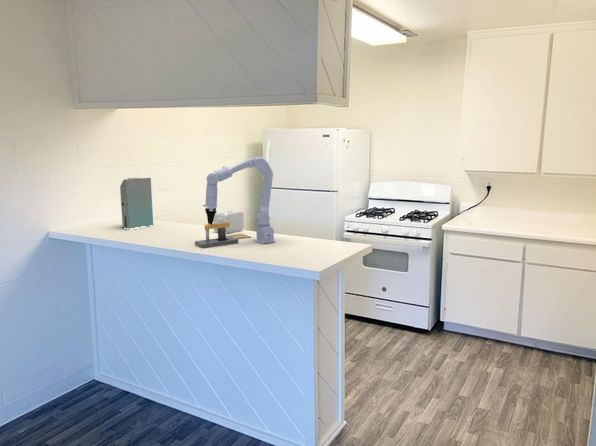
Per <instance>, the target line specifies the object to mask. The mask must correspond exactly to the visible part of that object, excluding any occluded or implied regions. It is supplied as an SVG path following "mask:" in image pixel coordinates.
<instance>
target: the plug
mask: <svg viewBox="0 0 596 446" xmlns="http://www.w3.org/2000/svg"><path fill="white" fill-rule="evenodd" d="M226 235H227V232H226V228H218V231H217V238H218V241H225V240H226Z"/></svg>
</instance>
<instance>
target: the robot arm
mask: <svg viewBox="0 0 596 446" xmlns="http://www.w3.org/2000/svg"><path fill="white" fill-rule="evenodd" d="M248 168H249V169H254V168H255V169H256V170H258V171H259V172H260V173H261V174H262V175H263V179H262V187H261V195H260V204H259V209H258V212H257V214H256V220H257V223H256V226H255V228H256V230H255V231H256V239H253V242H255V243H259V244H271V243H275V242H276V241H275V240H274V239H275V237H274V236H275V235H274V233H275V232H274V228H273V227H272V226H271V223H270V221H271V218H270V201H271V195H272V194H271V193H272V187H273V177H274V171H273V170H272V168H271V166H270V164H269V162H268V161H267V160H266V159H265V158H264V157H263V156H258V155H257V156H256V157H253V158H248V159H246V160H243V161H242V162H239V163H237V164H235V165H233V166H231V167H230V166H222V167H221V168H220V169H218V170H214V171H213V172H210V173H209V174H207V176H206V182H207V183H206V189H205V204H202V207H205V208H204V209H205V214H206V218H207V225H208V224H213V220H214V216H215V214H216V212H217V208H218V182H223V181H225V180H227V179H229V178H231V177H232V176H233V174H234V173H237V172H239V171H242V170H244V169H248Z"/></svg>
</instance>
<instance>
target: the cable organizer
mask: <svg viewBox="0 0 596 446" xmlns="http://www.w3.org/2000/svg"><path fill="white" fill-rule="evenodd" d="M244 217H245V215H244V212H243V211H241V210H239V211H233V210H230V209H229V210H223V211H218V212H216V214H215V216H214V220H213V224H217V223H227V222H228V223H230V227H223V228H226V234H233V233H234V232H236V233H240V232H242V231H243V229H244V227H245V224H244V223H245V219H244ZM213 231H214V232H218V228H214V229H213Z"/></svg>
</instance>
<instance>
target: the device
mask: <svg viewBox="0 0 596 446" xmlns="http://www.w3.org/2000/svg"><path fill="white" fill-rule="evenodd" d="M119 190H120V192H119V193H120V204H121V205H120V207H121V220H122V228H123V227H125V228H129V229H130V228H135V227H141V226H150V225H153V226H154V215H153V214H154V213H153V212H154V211H153V194H152V191H153V190H152V178H151V177H128V178H126V179H123V180H122V182H121V184H120V185H119Z"/></svg>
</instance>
